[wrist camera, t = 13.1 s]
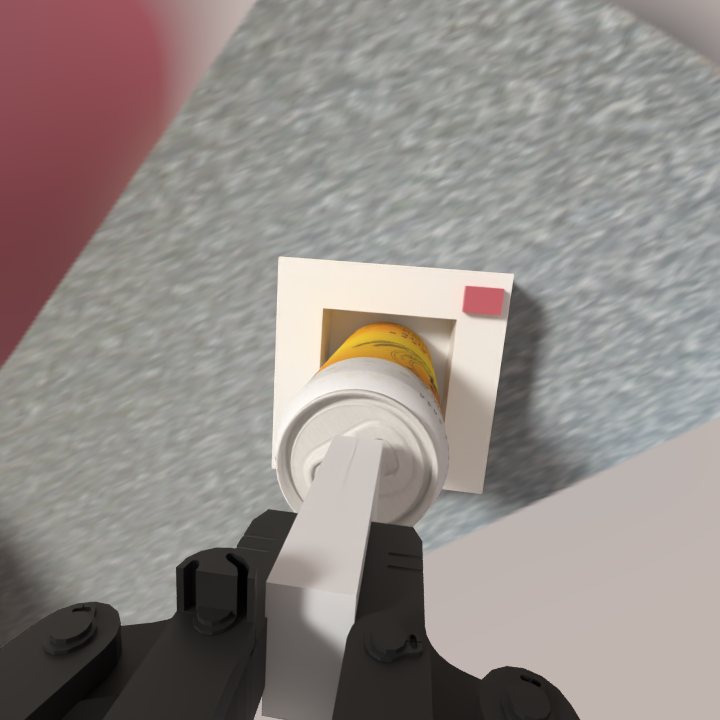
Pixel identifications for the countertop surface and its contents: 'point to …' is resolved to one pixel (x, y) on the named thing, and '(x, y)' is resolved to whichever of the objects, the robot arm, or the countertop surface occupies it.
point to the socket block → (416, 312)
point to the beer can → (371, 421)
